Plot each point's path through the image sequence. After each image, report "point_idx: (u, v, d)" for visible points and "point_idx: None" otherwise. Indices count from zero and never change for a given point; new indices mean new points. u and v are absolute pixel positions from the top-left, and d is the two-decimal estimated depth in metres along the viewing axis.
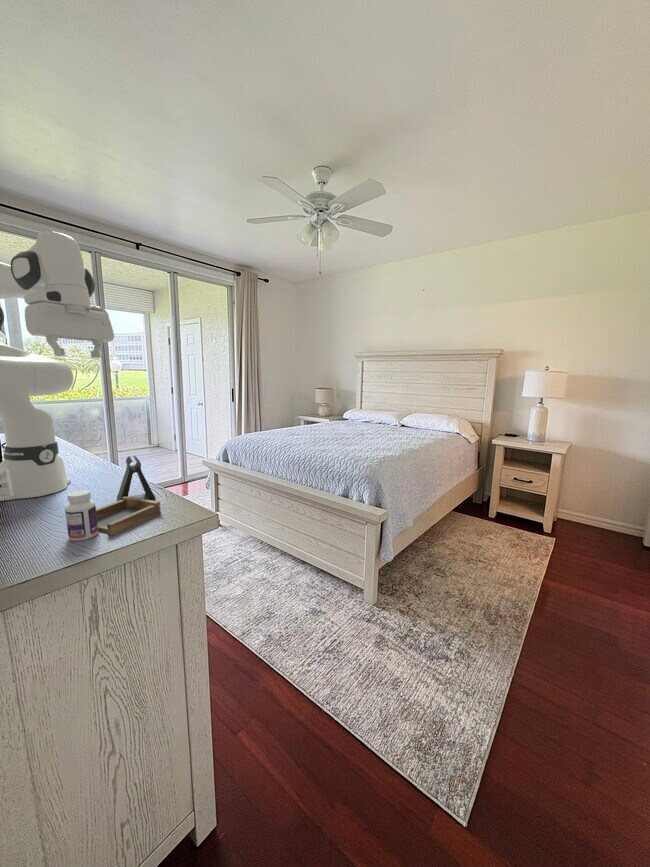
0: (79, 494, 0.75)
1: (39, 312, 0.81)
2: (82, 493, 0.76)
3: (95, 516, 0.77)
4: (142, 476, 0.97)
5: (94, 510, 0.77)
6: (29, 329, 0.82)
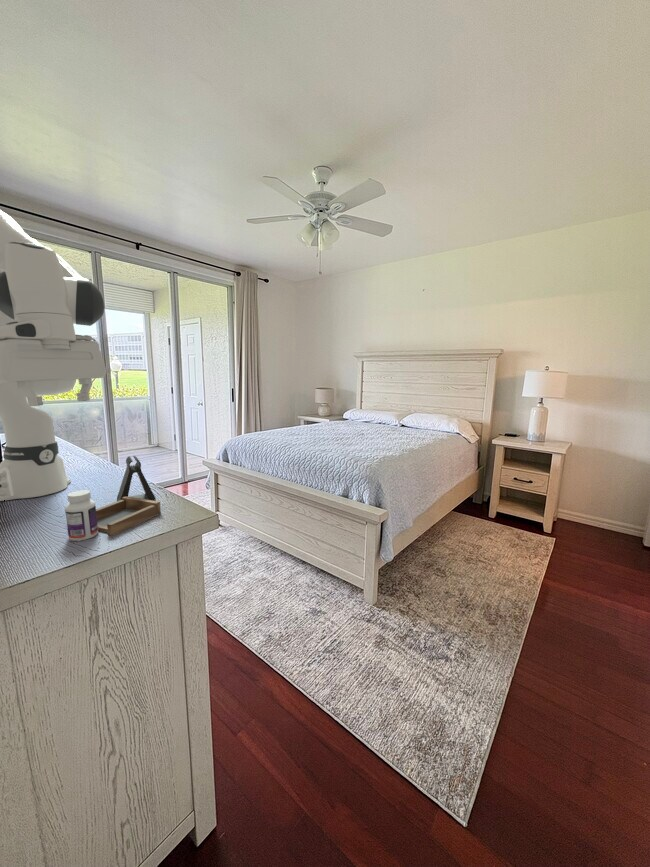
0: (79, 494, 0.75)
1: (6, 353, 0.61)
2: (82, 493, 0.76)
3: (95, 516, 0.77)
4: (142, 476, 0.97)
5: (94, 510, 0.77)
6: None
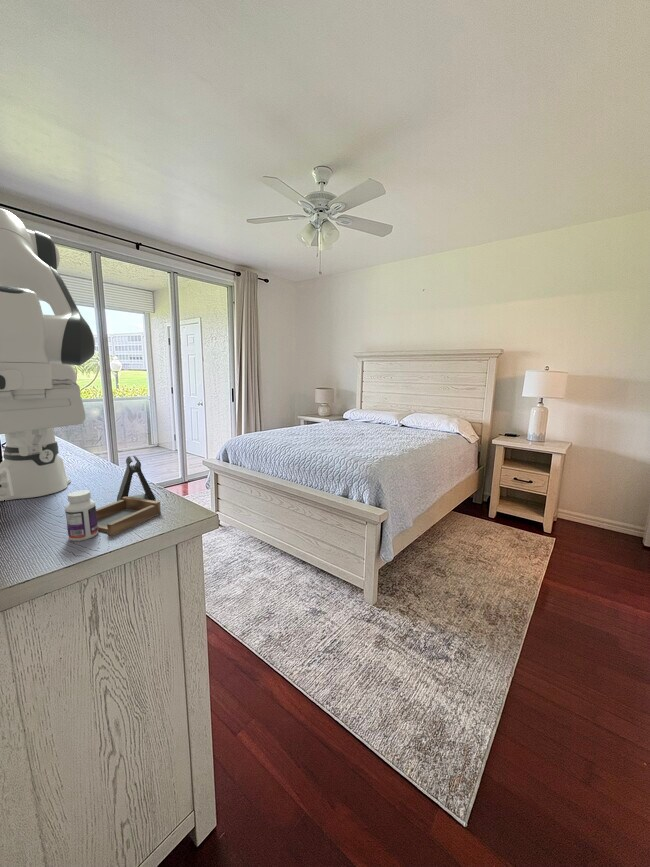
0: (79, 494, 0.75)
1: None
2: (82, 493, 0.76)
3: (95, 516, 0.77)
4: (142, 476, 0.97)
5: (94, 510, 0.77)
6: None
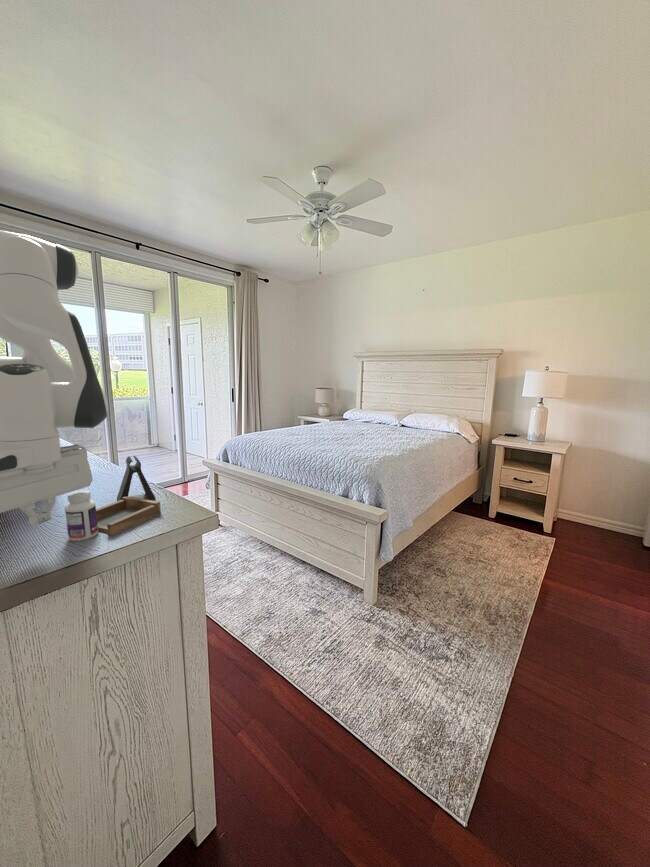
0: (79, 494, 0.75)
1: None
2: (82, 493, 0.76)
3: (95, 516, 0.77)
4: (142, 476, 0.97)
5: (94, 510, 0.77)
6: None
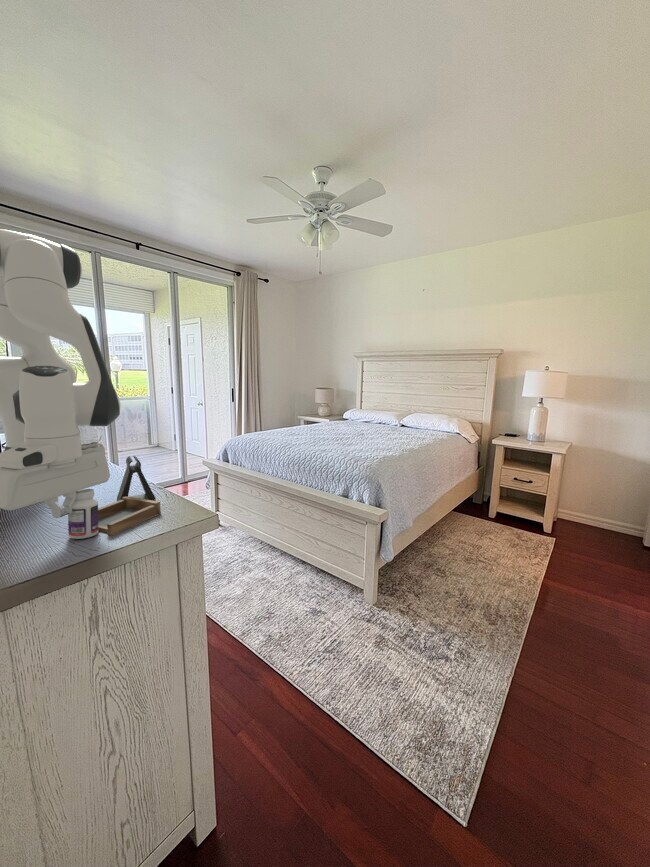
0: (83, 491, 0.76)
1: (11, 485, 0.62)
2: (86, 491, 0.76)
3: (97, 515, 0.78)
4: (142, 476, 0.97)
5: (97, 508, 0.77)
6: None
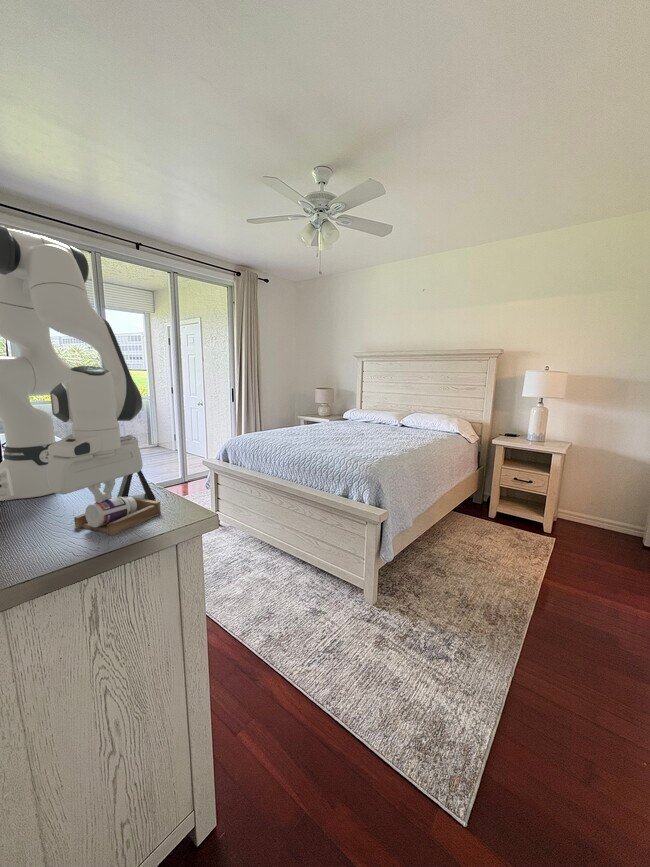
0: None
1: (65, 471, 0.70)
2: None
3: (117, 518, 0.82)
4: (142, 476, 0.97)
5: (123, 516, 0.83)
6: (51, 488, 0.71)
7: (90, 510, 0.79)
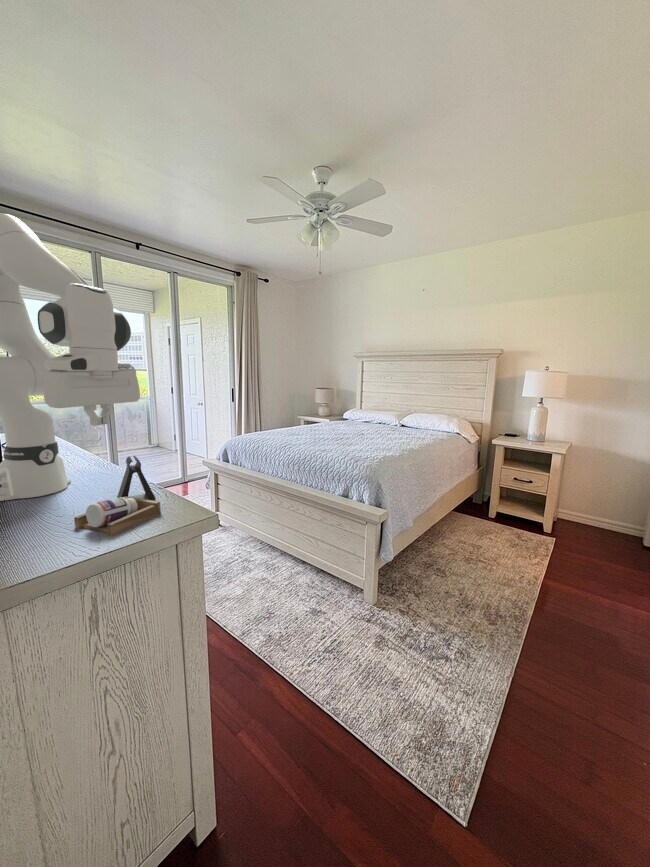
0: None
1: (61, 384, 0.70)
2: None
3: (117, 519, 0.82)
4: (142, 476, 0.97)
5: None
6: (47, 401, 0.71)
7: (91, 510, 0.79)
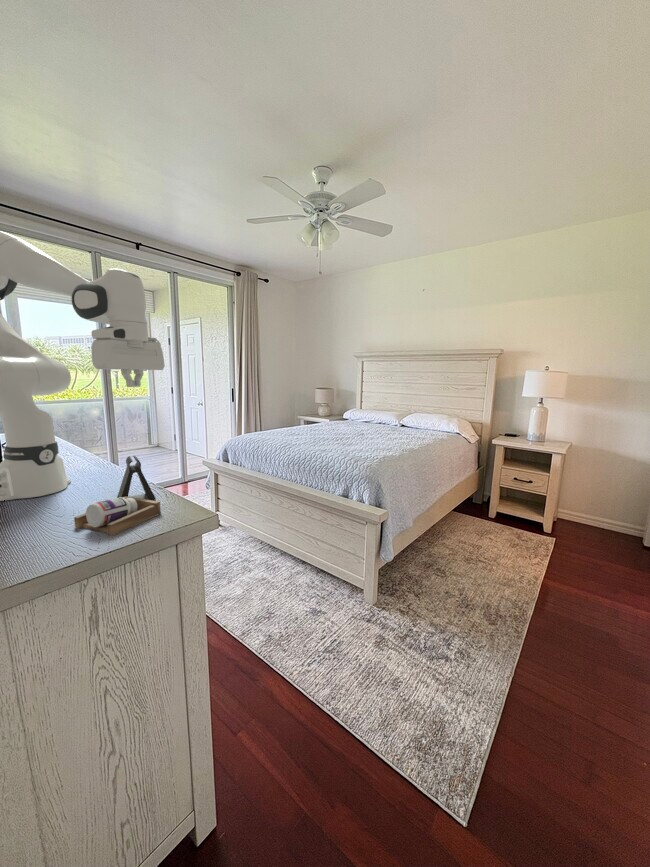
0: None
1: (106, 349, 0.87)
2: None
3: (117, 518, 0.82)
4: (142, 476, 0.97)
5: None
6: (95, 364, 0.87)
7: (91, 510, 0.79)
